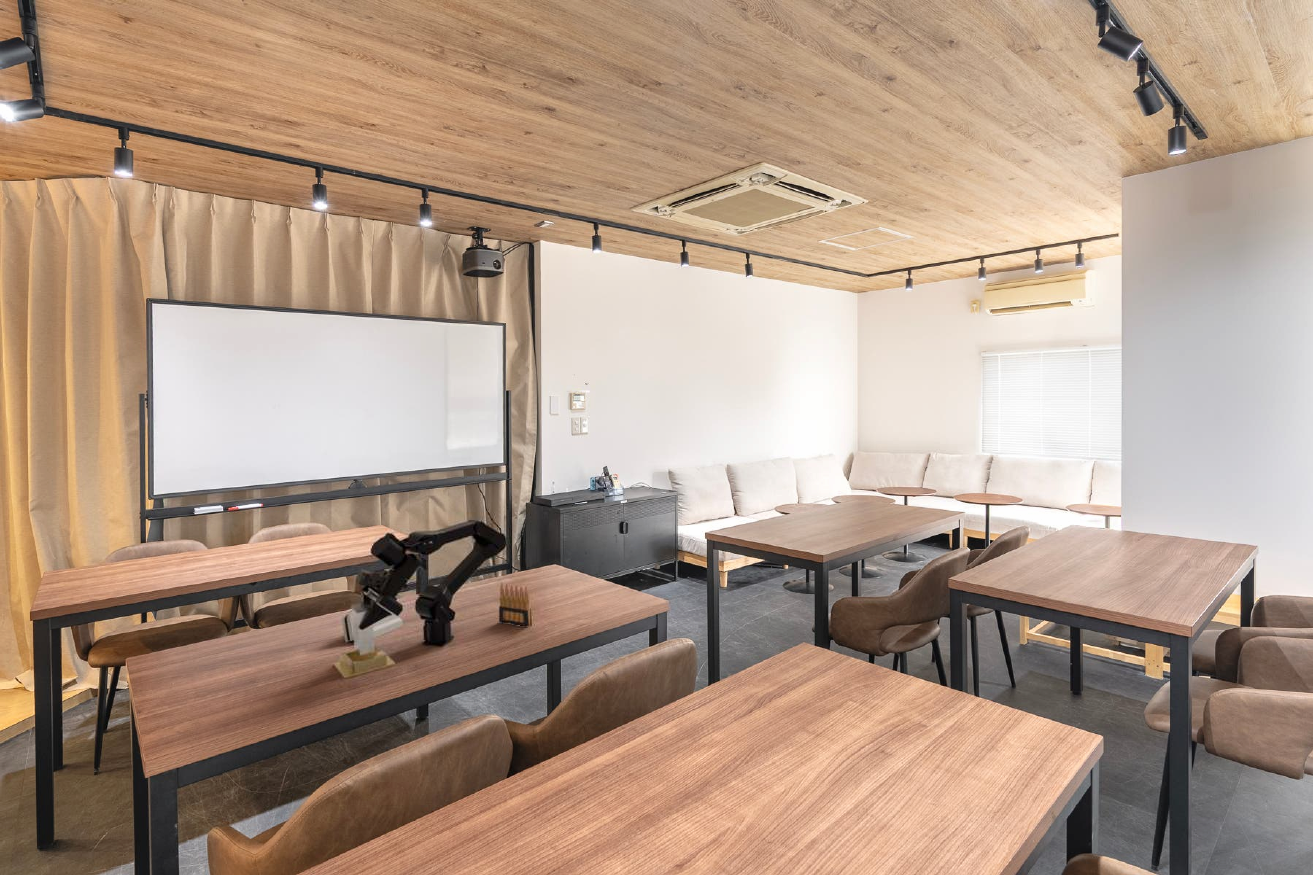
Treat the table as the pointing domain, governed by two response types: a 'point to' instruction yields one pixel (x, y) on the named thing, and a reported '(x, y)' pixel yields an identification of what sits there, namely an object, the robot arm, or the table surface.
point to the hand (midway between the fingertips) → (357, 626)
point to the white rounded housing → (378, 627)
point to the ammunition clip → (514, 606)
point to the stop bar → (362, 637)
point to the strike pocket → (362, 662)
